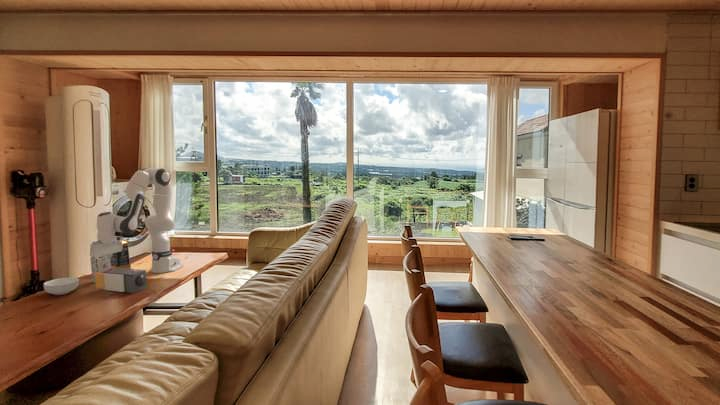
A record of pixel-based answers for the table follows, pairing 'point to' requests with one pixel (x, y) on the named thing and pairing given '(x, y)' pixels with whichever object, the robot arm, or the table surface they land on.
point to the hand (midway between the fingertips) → (107, 261)
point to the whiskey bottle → (121, 256)
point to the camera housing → (132, 279)
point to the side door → (110, 281)
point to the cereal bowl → (61, 285)
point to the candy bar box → (99, 266)
